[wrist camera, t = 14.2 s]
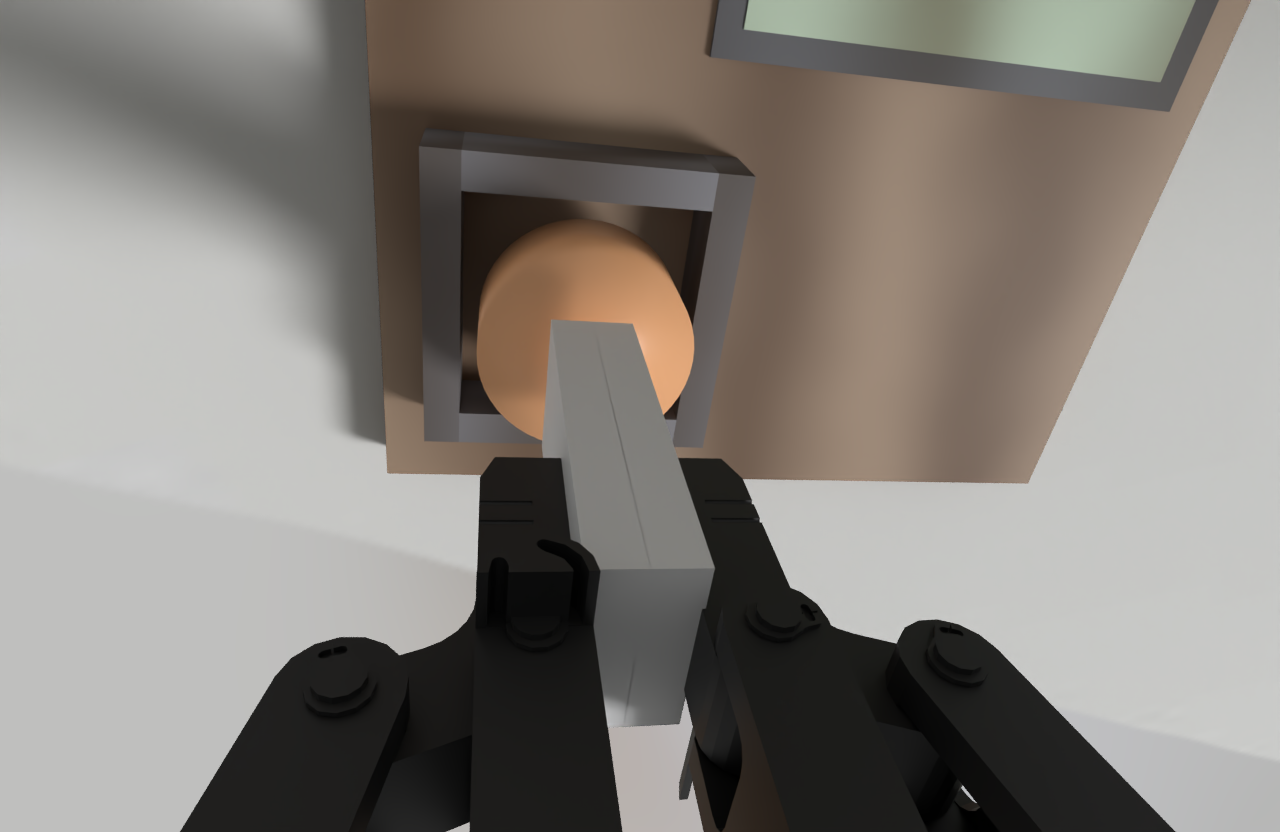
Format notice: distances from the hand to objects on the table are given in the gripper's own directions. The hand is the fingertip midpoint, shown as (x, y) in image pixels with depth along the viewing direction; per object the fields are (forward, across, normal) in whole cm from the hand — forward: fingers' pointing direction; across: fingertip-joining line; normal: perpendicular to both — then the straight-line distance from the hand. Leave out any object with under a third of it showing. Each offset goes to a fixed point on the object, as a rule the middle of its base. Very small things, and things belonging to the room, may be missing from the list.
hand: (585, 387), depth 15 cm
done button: (+3, 0, 0) cm, 3 cm away
